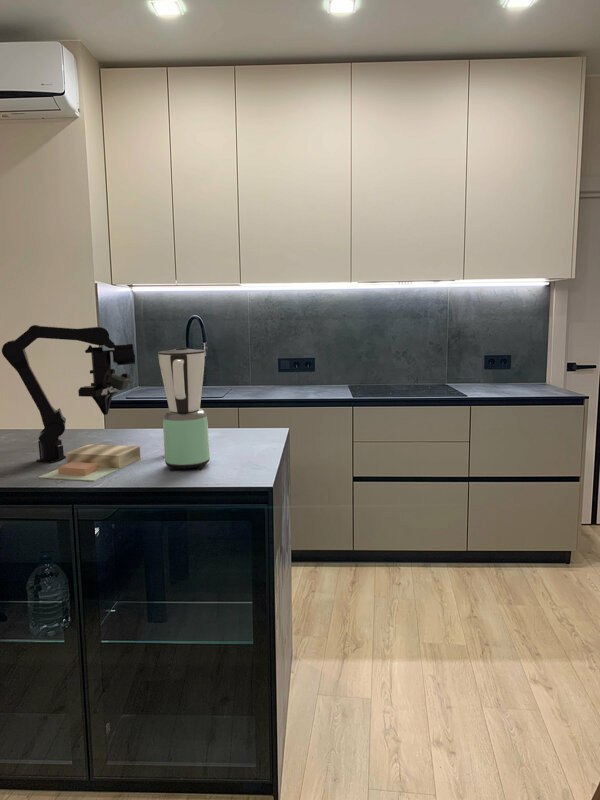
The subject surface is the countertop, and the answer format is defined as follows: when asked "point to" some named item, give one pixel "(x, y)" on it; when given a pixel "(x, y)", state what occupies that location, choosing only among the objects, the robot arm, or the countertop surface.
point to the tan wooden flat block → (105, 455)
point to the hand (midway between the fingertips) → (105, 414)
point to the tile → (78, 468)
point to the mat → (91, 477)
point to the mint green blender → (184, 409)
